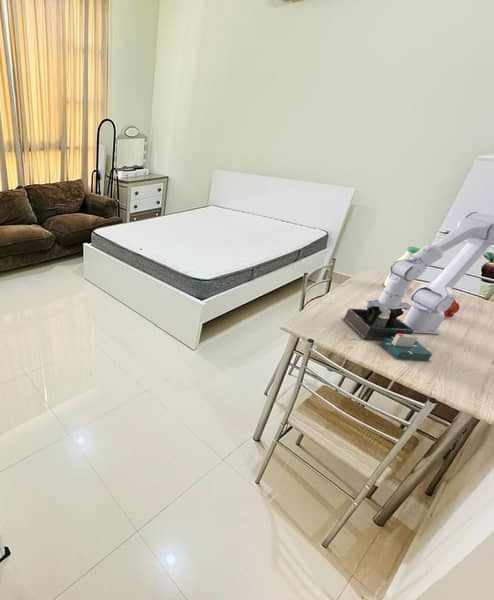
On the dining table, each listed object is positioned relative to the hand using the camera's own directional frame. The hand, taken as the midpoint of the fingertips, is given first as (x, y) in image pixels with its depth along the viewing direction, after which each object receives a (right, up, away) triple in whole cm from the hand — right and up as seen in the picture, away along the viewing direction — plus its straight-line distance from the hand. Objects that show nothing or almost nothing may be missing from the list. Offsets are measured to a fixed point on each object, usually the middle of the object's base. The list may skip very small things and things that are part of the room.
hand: (376, 323), depth 121 cm
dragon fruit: (+37, +3, +12) cm, 39 cm away
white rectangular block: (-1, -6, -11) cm, 13 cm away
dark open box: (0, -3, +1) cm, 3 cm away
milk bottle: (+37, +15, +33) cm, 52 cm away
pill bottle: (0, -2, +1) cm, 2 cm away
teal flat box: (+1, -9, -10) cm, 13 cm away
